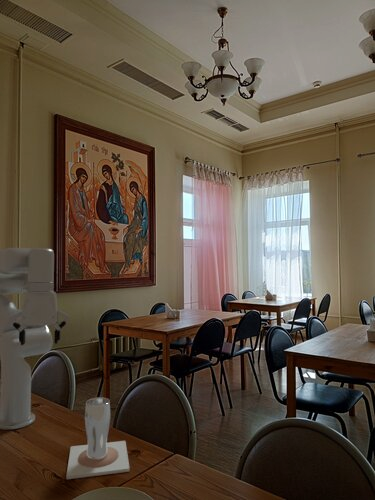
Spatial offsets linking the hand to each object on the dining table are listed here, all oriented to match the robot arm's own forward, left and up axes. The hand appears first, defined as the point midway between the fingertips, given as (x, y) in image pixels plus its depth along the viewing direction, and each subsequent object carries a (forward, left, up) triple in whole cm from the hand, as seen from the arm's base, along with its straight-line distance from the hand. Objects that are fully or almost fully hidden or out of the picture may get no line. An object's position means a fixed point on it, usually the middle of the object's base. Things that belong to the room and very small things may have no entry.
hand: (39, 343), depth 116 cm
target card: (+14, +18, -30) cm, 38 cm away
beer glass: (+14, +18, -29) cm, 37 cm away
